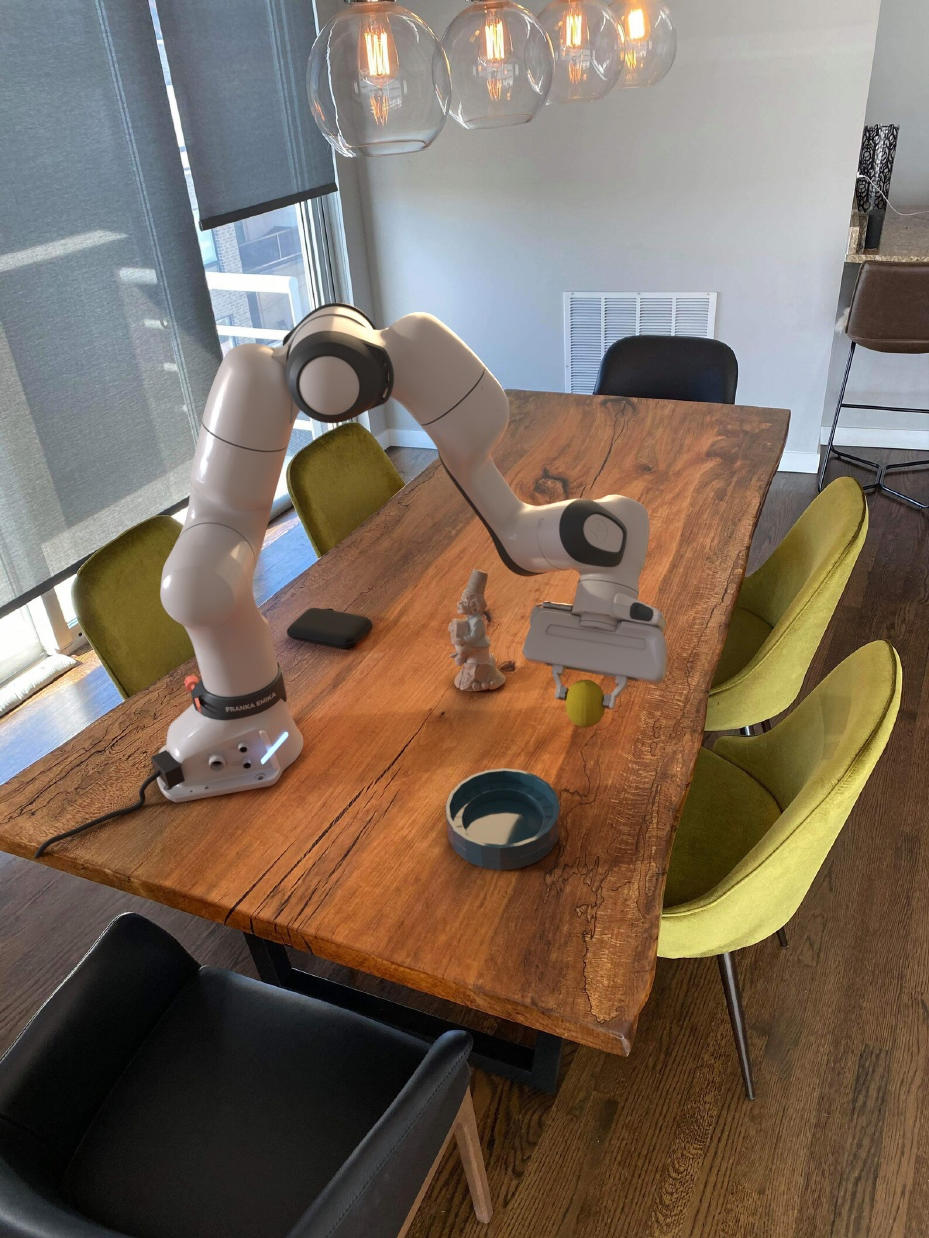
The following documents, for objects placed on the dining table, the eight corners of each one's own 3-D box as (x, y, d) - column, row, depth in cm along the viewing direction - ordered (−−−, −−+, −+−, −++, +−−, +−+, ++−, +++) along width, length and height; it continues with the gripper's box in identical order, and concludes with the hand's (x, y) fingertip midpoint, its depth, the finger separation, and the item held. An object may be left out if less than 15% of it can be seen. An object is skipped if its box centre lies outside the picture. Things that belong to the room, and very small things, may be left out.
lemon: (607, 717, 131) (608, 671, 127) (601, 741, 127) (602, 694, 123) (569, 712, 133) (569, 667, 129) (562, 736, 128) (561, 690, 124)
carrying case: (380, 625, 172) (313, 613, 178) (378, 611, 171) (311, 600, 176) (352, 655, 164) (283, 641, 170) (350, 641, 163) (281, 627, 168)
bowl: (474, 887, 116) (472, 862, 114) (431, 813, 128) (429, 788, 126) (580, 849, 121) (580, 823, 118) (528, 780, 133) (528, 756, 130)
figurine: (494, 662, 159) (489, 561, 149) (511, 688, 152) (506, 584, 142) (445, 674, 157) (436, 571, 147) (460, 700, 150) (451, 595, 140)
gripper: (529, 593, 130) (508, 687, 128) (672, 613, 123) (653, 713, 121) (539, 604, 136) (519, 694, 134) (677, 625, 129) (659, 720, 126)
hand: (584, 704), depth 127 cm, fingers closed on lemon, 5 cm apart
